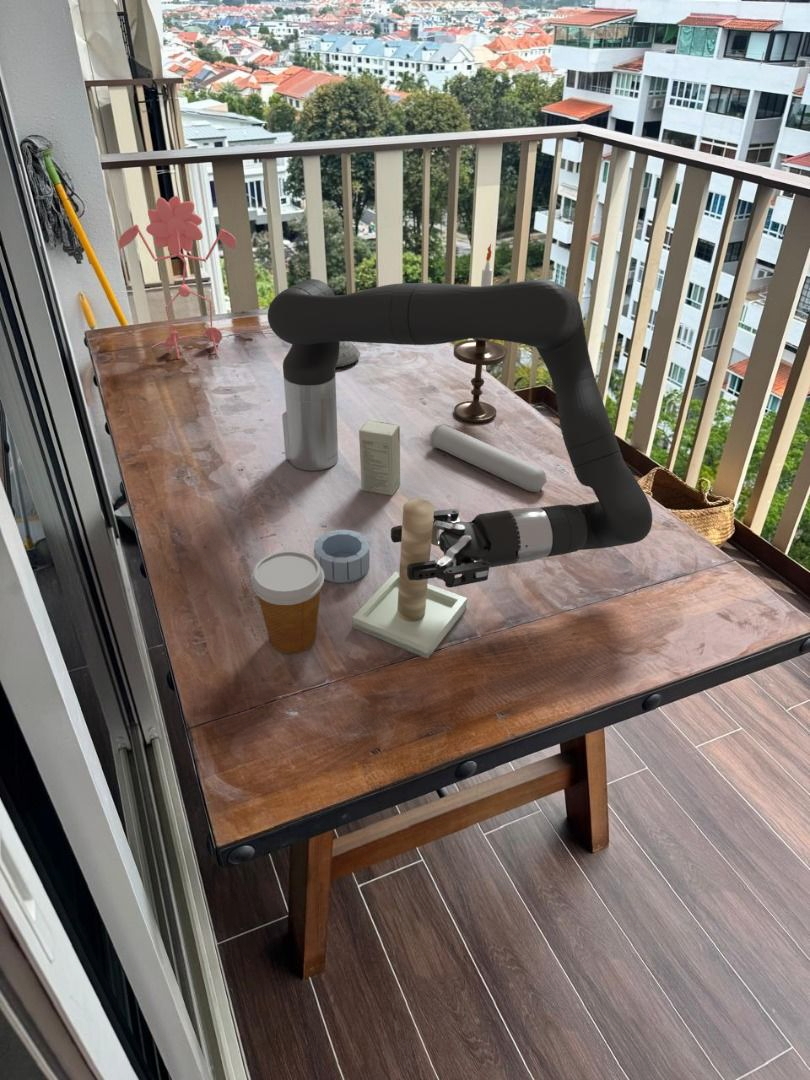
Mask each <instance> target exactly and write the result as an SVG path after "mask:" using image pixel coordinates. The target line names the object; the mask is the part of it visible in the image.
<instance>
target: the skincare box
mask: <svg viewBox="0 0 810 1080" xmlns="http://www.w3.org/2000/svg"><path fill="white" fill-rule="evenodd" d="M400 431H401V426H400V424H394V423H389V422H382V421H376V420H375V421H374V420H370V419H369V420H367V421H365V423H364V424H363V425H362V426H361V427H360V428H359V429H358V435H359V437H358V438H359V439H358V441H359V457H360V458H359V461H360V478H361V479H360V483H361V490H362V491H366V492H370V493H376V494H382V495H387V496H394V495H395V493H396V491H397V490H398V488H399V487H400V486H401V432H400Z"/></svg>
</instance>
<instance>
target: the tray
mask: <svg viewBox="0 0 810 1080" xmlns="http://www.w3.org/2000/svg"><path fill="white" fill-rule="evenodd" d="M398 589H399V572H398V571H395V572H394V573H393V574H391V576H389V578H388V579H387V580H386V581H385V582H384V583H383V585H382V586H380V587H379V589H377V591H376V592H374V594H373V595H372V596H371V597H370V598H369V599H368V600H367V601H366V602H365V604H363V605H362V607H360V609H359V610H358V611H357V612H356V613H355V614H354V615H353V616H352V629H355V630H358V631H360V632H362V633H363V634H364V633H365V634H367V635H369V636H372V637H374V638H377V639H379V640H382V641H384V642H386V643H389V644H391V645H393V646H395V647H398V648H401V649H403V650H405V651H407V652H410V653H413V654H414V655H417V656H420V657H422V658H424V659H429V658H430V656H431V655H432V654H433V653H434V651H435V650H436V649H437V647H438V646H439V645H440V644H441V642H442V641H443V640H444V638H445V637H446V635H448V633H449V632H450V631H451V629H452V628H453V626H455V624H456V623H457V621H458V620H459V619H460V618H461V616H462V615H463V613H464V612H465V611H466V610H467V605H468V598H467V597H465V596H462V595H460V594H457V593H454V592H452V591H448V590H446V589H443V588H441V587H439V586H435V585H432V584H430V583H428V585H427V597H426V608H425V615H424V617H423V618H422V619H421V620H418V621H414V622H410V621H405V620H403V619H401V618H400V617H399V616H398V614H397V607H398Z"/></svg>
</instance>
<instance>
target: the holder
mask: <svg viewBox="0 0 810 1080" xmlns="http://www.w3.org/2000/svg"><path fill="white" fill-rule="evenodd" d="M370 547H371V546H370V541H369V539H368V538H367V537H366V536H365V535H364V534H362V533H360V532H358V531H354V530H350V529H336V530H331V531H328V532H325V533H323V534H321V535H320V536H319V537H318V538H317V539H316V540H315V541H314V547H313V557H314V558H315V559H316V560H317V561H318V563H319V565H320V566H321V567H322V569H323V571H324V575H325V577H324V581H327V582H330V583H334V584H349V583H354V582H357V581H359V580H361V579H362V578H364V577H365V576H366V575H367V574H368V572H369V570H370V556H371V555H370V551H371V549H370Z"/></svg>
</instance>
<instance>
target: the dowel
mask: <svg viewBox="0 0 810 1080" xmlns="http://www.w3.org/2000/svg"><path fill="white" fill-rule="evenodd" d="M434 511H435V506H434V504H432V502H430V501H428V500H426V499H421V498H414V499H413V498H412V499H410V500H408V501H406V502H405V503H403V506H402V521H401V522H402V525H401V526H402V538H401V542H400V557H399V558H400V559H399V572H398V573H399V589H398V607H397V614H398V616H399V617H400V618H401V619H403V620H405V621H410V622H414V621H418V620H421V619H422V618H423V617H424V615H425V608H426V597H427V585H428V584H429V583H428V582H429V579H424V580H423V579H422V580H409V579H408V576H407V566H408V565H409V564H413V563H419V562H426V561H431V549H432V548H431V547H432V543H431V539H432V528H433V521H434V518H433V516H434Z"/></svg>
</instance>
